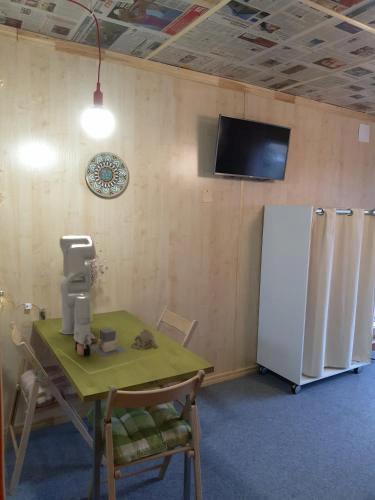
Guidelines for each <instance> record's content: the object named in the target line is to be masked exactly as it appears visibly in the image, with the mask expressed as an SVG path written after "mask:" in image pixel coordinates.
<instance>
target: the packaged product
mask: <svg viewBox="0 0 375 500" xmlns="http://www.w3.org/2000/svg"><path fill="white" fill-rule="evenodd" d="M90 335H91V339H90V340H91V342H92V343H91V345H92V344H95V343H97V341H98V339H97V338H96V336H94V334H93V333H92V332H91V331H90Z"/></svg>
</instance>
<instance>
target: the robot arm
mask: <svg viewBox="0 0 375 500" xmlns="http://www.w3.org/2000/svg"><path fill="white" fill-rule="evenodd" d="M59 246H60V247H59V248H60V250H61V252H62V257H63V263H62V264H63V265H62V272H63V276H64V278H65V279H64V280H63V281H61V282H60V286H59V288H60V295H61V328H59V330H58V331H59V333H60V334H62V335H73V340H74V342H75V343H74V344H75V345H74V346H75V347H74V350H75V351H77V343H80V344H84V355H83V357H88V356H90V355H91V349H90V348H91V346H92V344H93V343H92V342H91V340H90V339H91V335H90V332H91V325H90V324H91V302H92V296H91V294H90V293H91V288H92V266H91V264H90V263H89V261H91V260H94V259H96V246H95V243H94V241H93V239H92V237H91V236H89V235H64V236H61V237H60V238H59ZM87 260H89V261H87ZM87 343H88V344H87ZM91 343H92V344H91ZM86 344H87V345H86Z"/></svg>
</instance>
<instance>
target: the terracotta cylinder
mask: <svg viewBox="0 0 375 500" xmlns="http://www.w3.org/2000/svg"><path fill="white" fill-rule="evenodd" d="M87 344H88V343H87ZM87 344H86V345H87ZM76 354H77V355H78V356H84V344H80V343H77V350H76Z"/></svg>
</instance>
